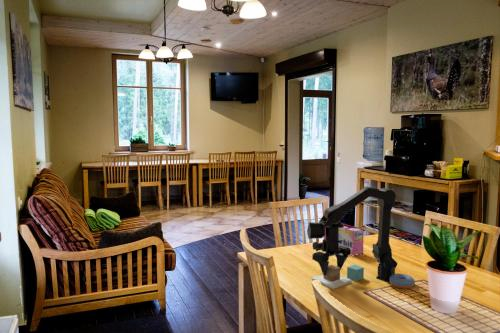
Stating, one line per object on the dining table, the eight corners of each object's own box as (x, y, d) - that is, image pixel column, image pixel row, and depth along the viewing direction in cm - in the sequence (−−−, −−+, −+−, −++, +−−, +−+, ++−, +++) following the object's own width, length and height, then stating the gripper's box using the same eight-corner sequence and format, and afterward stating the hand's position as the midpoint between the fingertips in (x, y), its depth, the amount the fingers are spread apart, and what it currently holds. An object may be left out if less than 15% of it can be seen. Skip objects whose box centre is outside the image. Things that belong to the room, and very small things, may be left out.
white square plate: (351, 281, 171) (351, 279, 171) (333, 288, 164) (333, 286, 164) (330, 274, 181) (330, 271, 181) (311, 280, 174) (311, 278, 173)
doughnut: (391, 288, 163) (393, 277, 163) (386, 281, 173) (387, 270, 173) (417, 292, 162) (418, 281, 162) (410, 284, 172) (411, 273, 171)
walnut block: (340, 279, 172) (340, 267, 172) (332, 281, 169) (332, 270, 168) (331, 275, 176) (331, 264, 175) (323, 278, 173) (323, 267, 172)
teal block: (363, 278, 176) (363, 267, 175) (356, 281, 172) (356, 269, 172) (354, 275, 179) (354, 264, 179) (347, 277, 176) (347, 266, 176)
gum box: (322, 245, 227) (322, 222, 226) (332, 243, 231) (332, 220, 230) (353, 256, 206) (353, 230, 205) (363, 254, 210) (364, 228, 209)
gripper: (331, 230, 183) (331, 263, 184) (303, 237, 172) (303, 272, 173) (351, 235, 174) (351, 270, 175) (322, 243, 163) (322, 280, 164)
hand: (331, 273), depth 172 cm, fingers open, 9 cm apart
